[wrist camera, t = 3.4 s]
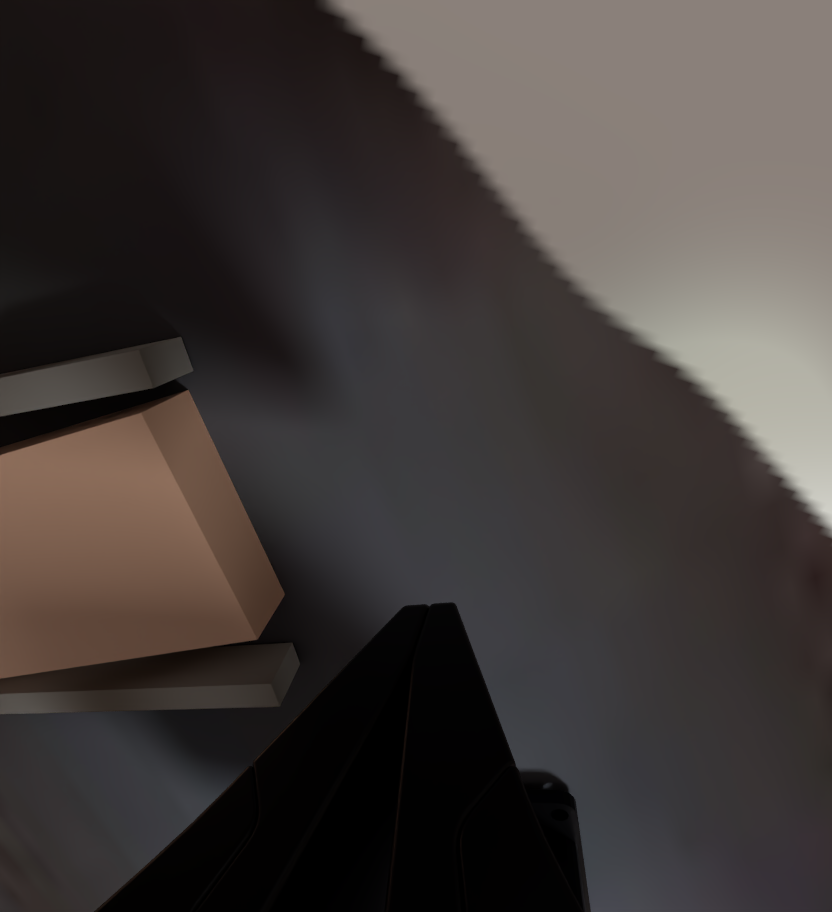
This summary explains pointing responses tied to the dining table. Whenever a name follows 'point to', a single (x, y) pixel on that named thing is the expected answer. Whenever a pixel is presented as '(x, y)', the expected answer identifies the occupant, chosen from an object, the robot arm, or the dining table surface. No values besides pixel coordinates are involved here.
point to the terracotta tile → (125, 543)
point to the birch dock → (152, 677)
